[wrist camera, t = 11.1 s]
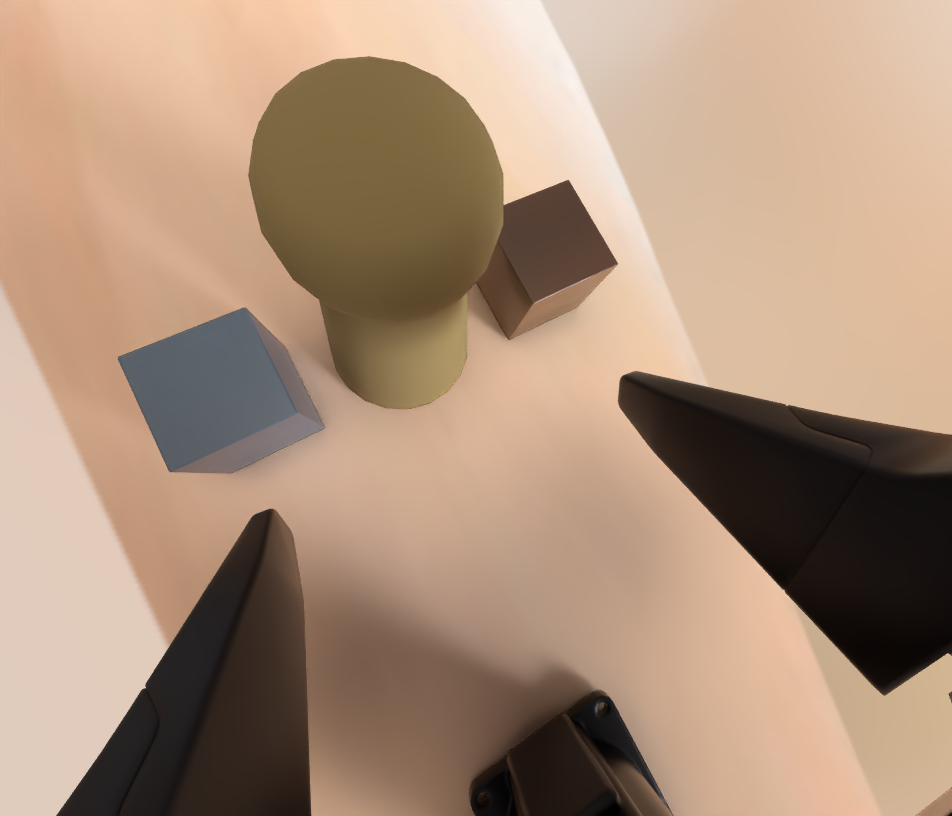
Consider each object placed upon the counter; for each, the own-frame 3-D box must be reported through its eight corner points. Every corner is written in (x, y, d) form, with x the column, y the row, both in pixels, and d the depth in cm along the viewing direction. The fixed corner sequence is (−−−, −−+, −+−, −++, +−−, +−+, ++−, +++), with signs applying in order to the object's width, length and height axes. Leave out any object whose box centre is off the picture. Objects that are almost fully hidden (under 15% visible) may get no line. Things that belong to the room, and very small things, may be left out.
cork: (427, 434, 17) (446, 362, 6) (302, 366, 17) (102, 169, 6) (490, 321, 18) (594, 106, 8) (376, 256, 18) (319, -63, 7)
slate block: (325, 427, 16) (297, 412, 13) (230, 473, 16) (168, 472, 12) (284, 345, 17) (245, 306, 13) (188, 386, 16) (115, 356, 12)
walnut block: (577, 307, 19) (618, 264, 15) (508, 340, 18) (533, 303, 14) (538, 238, 20) (568, 179, 16) (468, 267, 19) (482, 213, 15)
